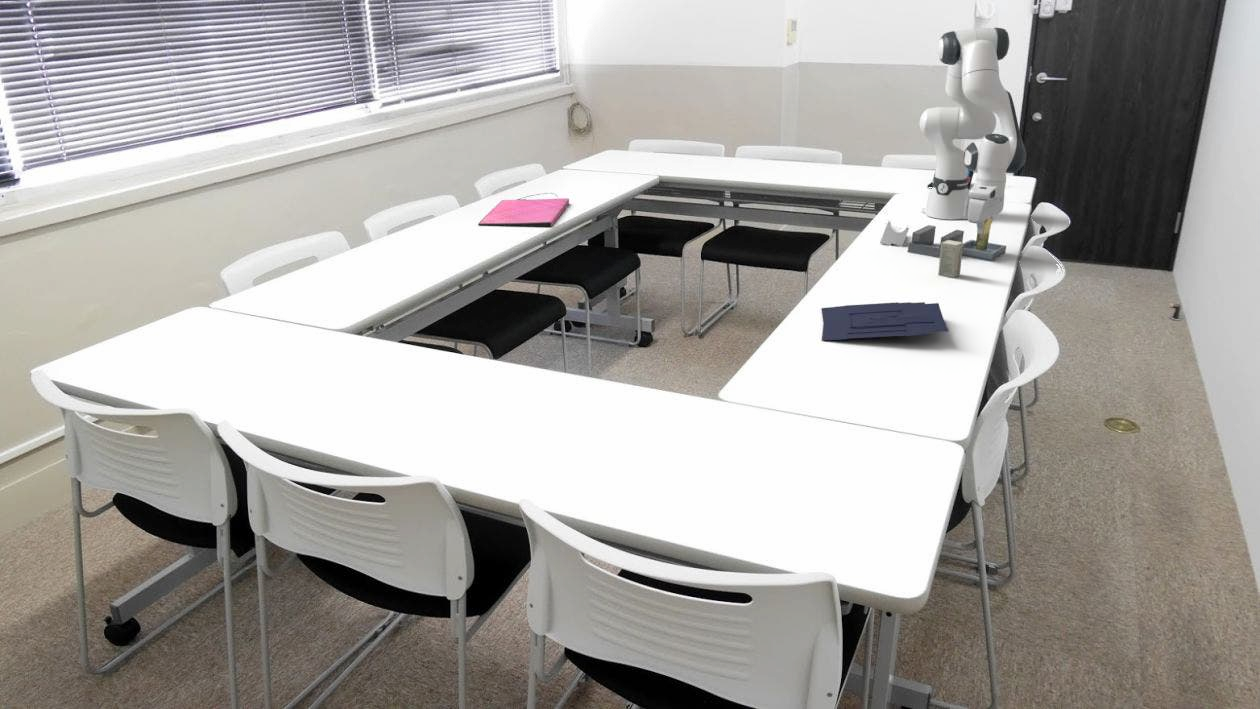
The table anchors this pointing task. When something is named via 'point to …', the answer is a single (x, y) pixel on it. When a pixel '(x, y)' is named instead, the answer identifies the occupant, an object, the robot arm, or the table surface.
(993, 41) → the robot arm
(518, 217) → the laptop bag
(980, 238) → the pin
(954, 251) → the skincare box
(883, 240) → the bracket
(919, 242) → the clevis block
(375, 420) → the table surface
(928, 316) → the navy flat slab
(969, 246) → the tray
